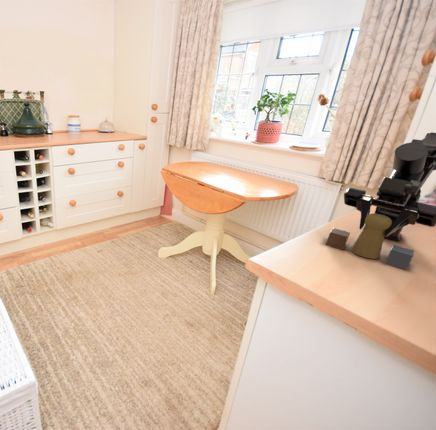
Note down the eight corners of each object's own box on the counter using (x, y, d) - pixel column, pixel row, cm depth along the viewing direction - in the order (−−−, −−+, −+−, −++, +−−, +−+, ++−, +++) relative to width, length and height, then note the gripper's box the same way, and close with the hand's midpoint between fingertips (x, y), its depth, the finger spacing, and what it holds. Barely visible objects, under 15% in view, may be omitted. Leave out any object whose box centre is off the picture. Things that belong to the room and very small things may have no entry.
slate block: (386, 257, 77) (393, 244, 75) (407, 264, 74) (414, 250, 73) (385, 263, 74) (391, 249, 73) (406, 269, 72) (413, 255, 70)
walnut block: (329, 240, 85) (333, 227, 84) (345, 245, 83) (350, 232, 81) (325, 244, 83) (330, 231, 81) (342, 249, 80) (347, 236, 79)
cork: (371, 248, 80) (386, 212, 76) (384, 260, 75) (402, 221, 71) (346, 245, 82) (360, 209, 77) (358, 257, 76) (373, 218, 72)
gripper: (358, 158, 78) (329, 205, 77) (460, 174, 64) (427, 231, 63) (358, 182, 86) (331, 224, 84) (449, 200, 72) (419, 252, 70)
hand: (372, 232), depth 75 cm, fingers closed on cork, 5 cm apart
